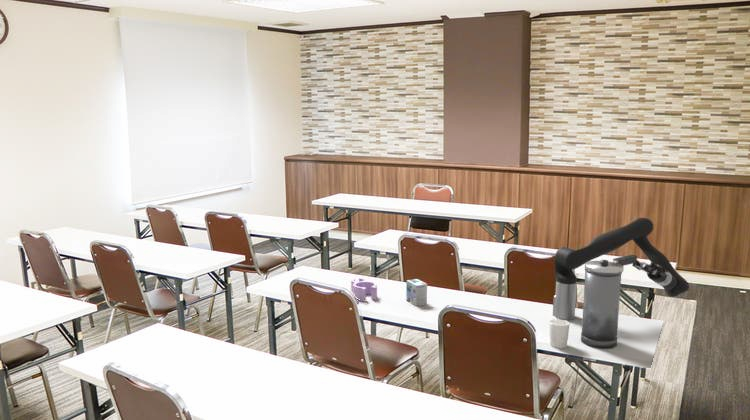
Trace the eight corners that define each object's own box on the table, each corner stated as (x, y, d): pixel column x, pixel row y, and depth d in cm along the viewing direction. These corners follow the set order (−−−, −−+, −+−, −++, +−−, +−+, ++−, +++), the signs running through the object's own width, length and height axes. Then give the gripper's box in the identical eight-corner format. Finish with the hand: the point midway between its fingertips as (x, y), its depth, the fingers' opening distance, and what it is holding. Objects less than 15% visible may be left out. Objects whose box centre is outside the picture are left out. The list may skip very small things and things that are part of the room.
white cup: (546, 346, 248) (547, 323, 246) (550, 340, 255) (551, 318, 253) (566, 350, 244) (567, 327, 242) (569, 343, 251) (571, 321, 249)
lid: (577, 267, 250) (577, 259, 249) (618, 258, 265) (619, 250, 264) (608, 275, 237) (608, 267, 237) (649, 265, 252) (650, 257, 252)
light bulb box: (405, 300, 309) (405, 280, 307) (417, 298, 312) (417, 278, 310) (415, 306, 300) (416, 285, 298) (427, 304, 302) (427, 283, 301)
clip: (345, 291, 324) (345, 279, 323) (367, 289, 328) (367, 277, 327) (358, 302, 306) (358, 289, 304) (381, 299, 310) (381, 286, 309)
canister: (573, 340, 255) (577, 267, 249) (595, 333, 262) (599, 262, 257) (602, 351, 243) (607, 275, 237) (624, 344, 250) (629, 270, 245)
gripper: (648, 264, 277) (630, 251, 268) (677, 271, 265) (660, 258, 256) (642, 279, 276) (624, 266, 267) (671, 286, 264) (654, 274, 255)
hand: (642, 262), depth 262 cm, fingers open, 8 cm apart
